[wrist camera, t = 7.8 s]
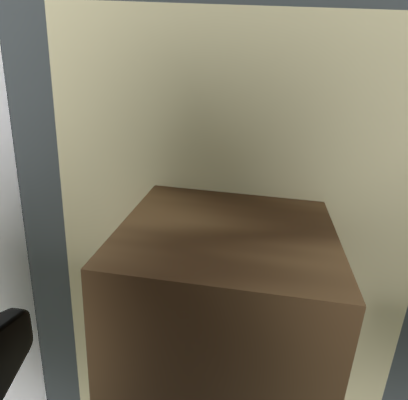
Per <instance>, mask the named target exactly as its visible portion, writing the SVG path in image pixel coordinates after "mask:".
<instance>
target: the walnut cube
mask: <svg viewBox="0 0 408 400" xmlns="http://www.w3.org/2000/svg"><path fill="white" fill-rule="evenodd" d="M81 283H82V297H83V311H84V325H85V338H86V352H87V366H88V380H89V394H90V400H344V398H345V394H346V390H347V386H348V382H349V377H350V373H351V369H352V365H353V361H354V357H355V352H356V348H357V344H358V340H359V336H360V331H361V327H362V323H363V319H364V315H365V311H366V304H365V302H364V299H363V297H362V294H361V292H360V289H359V287H358V284H357V282H356V279H355V277H354V274H353V272H352V269H351V267H350V264H349V262H348V259H347V257H346V255H345V252H344V250H343V247H342V245H341V242H340V240H339V237H338V235H337V232H336V230H335V227H334V225H333V222H332V220H331V217H330V215H329V212H328V210H327V207H326V205H325V203H324V202H320V201H310V200H300V199H290V198H279V197H269V196H259V195H249V194H239V193H229V192H218V191H208V190H198V189H188V188H178V187H168V186H157V185H155V186H154V187H153V188H152V189H151V190H150V191H149V192H148V194H147V195H146V196H145V197H144V198H143V199H142V200H141V201H140V203H139V204H138V205H137V206H136V207H135V208H134V209H133V211H132V212H131V213H130V214H129V215H128V216H127V217H126V218H125V220H124V221H123V222H122V223H121V224H120V225H119V226H118V227H117V229H116V230H115V231H114V232H113V233H112V234H111V235H110V237H109V238H108V239H107V240H106V241H105V242H104V243H103V244H102V246H101V247H100V248H99V249H98V250H97V251H96V252H95V254H94V255H93V256H92V257H91V258H90V259H89V260H88V261H87V263H86V264H85V265H84V266H83V267H82V268H81Z"/></svg>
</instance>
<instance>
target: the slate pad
mask: <svg viewBox="0 0 408 400" xmlns="http://www.w3.org/2000/svg"><path fill="white" fill-rule="evenodd" d="M0 45H1V52H2V60H3V68H4V75H5V83H6V91H7V98H8V106H9V114H10V121H11V129H12V137H13V144H14V152H15V160H16V167H17V175H18V182H19V190H20V198H21V205H22V213H23V221H24V228H25V236H26V244H27V251H28V259H29V267H30V274H31V282H32V290H33V297H34V305H35V313H36V320H37V328H38V336H39V343H40V351H41V359H42V366H43V374H44V382H45V389H46V397H47V400H90V394H89V380H88V366H87V352H86V338H85V325H84V311H83V297H82V283H81V268H82V267H83V266H84V265H85V264H86V263H87V261H88V260H89V259H90V258H91V257H92V256H93V255H94V254H95V252H96V251H97V250H98V249H99V248H100V247H101V246H102V244H103V243H104V242H105V241H106V240H107V239H108V238H109V237H110V235H111V234H112V233H113V232H114V231H115V230H116V229H117V227H118V226H119V225H120V224H121V223H122V222H123V221H124V220H125V218H126V217H127V216H128V215H129V214H130V213H131V212H132V211H133V209H134V208H135V207H136V206H137V205H138V204H139V203H140V201H141V200H142V199H143V198H144V197H145V196H146V195H147V194H148V192H149V191H150V190H151V189H152V188H153V187H154V186H155V185H157V186H168V187H178V188H188V189H198V190H208V191H218V192H229V193H239V194H249V195H259V196H269V197H279V198H290V199H300V200H310V201H320V202H324V203H325V205H326V207H327V210H328V212H329V215H330V217H331V220H332V222H333V225H334V227H335V230H336V232H337V235H338V237H339V240H340V242H341V245H342V247H343V250H344V252H345V255H346V257H347V259H348V262H349V264H350V267H351V269H352V272H353V274H354V277H355V279H356V282H357V284H358V287H359V289H360V292H361V294H362V297H363V299H364V302H365V304H366V311H365V315H364V319H363V323H362V327H361V331H360V336H359V340H358V344H357V348H356V352H355V357H354V361H353V365H352V369H351V373H350V377H349V382H348V386H347V390H346V394H345V398H344V400H408V0H0Z"/></svg>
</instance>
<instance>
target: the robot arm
mask: <svg viewBox="0 0 408 400" xmlns="http://www.w3.org/2000/svg"><path fill="white" fill-rule="evenodd" d="M32 342H33V333H32V326H31V319H30V313H29V312H28V311H27V310H25V309H18V308H10V309H7V310H5V311H3V312H0V400H3V398H4V397H5V395H6V393H7V391H8V389H9V387H10V385H11V383H12V382H13V380H14V378H15V376H16V374H17V372H18V370H19V369H20V367H21V365H22V363H23V361H24V359H25V357H26V355H27V354H28V352H29V350H30V348H31V345H32Z"/></svg>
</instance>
